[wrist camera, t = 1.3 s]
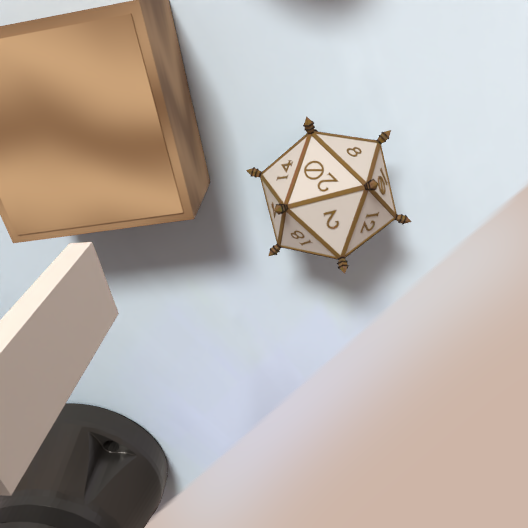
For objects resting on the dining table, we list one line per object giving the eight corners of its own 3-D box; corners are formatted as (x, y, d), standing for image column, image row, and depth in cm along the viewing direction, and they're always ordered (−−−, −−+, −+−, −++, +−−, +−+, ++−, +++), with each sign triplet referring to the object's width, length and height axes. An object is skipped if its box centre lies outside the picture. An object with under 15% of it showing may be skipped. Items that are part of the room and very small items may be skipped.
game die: (293, 160, 36) (190, 178, 29) (386, 84, 30) (287, 81, 23) (353, 269, 35) (263, 317, 28) (460, 212, 29) (382, 252, 22)
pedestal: (210, 182, 33) (194, 219, 28) (55, 204, 35) (12, 244, 29) (167, -4, 28) (138, -1, 23) (-12, 31, 29) (-80, 41, 24)
